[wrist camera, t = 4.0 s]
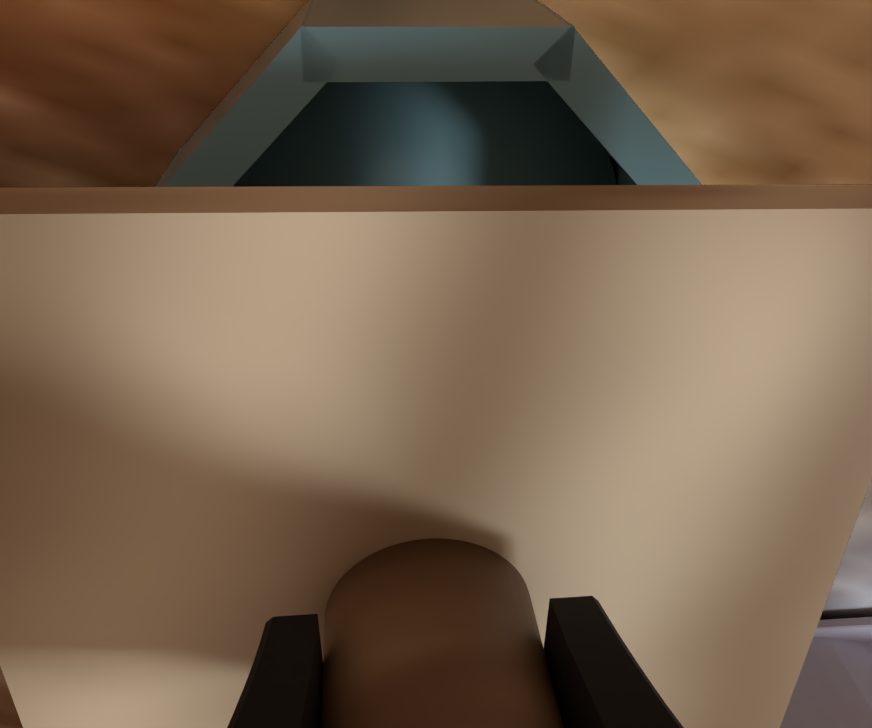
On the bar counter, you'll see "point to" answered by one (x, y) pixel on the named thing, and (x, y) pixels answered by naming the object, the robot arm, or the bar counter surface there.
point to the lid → (425, 442)
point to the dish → (426, 105)
